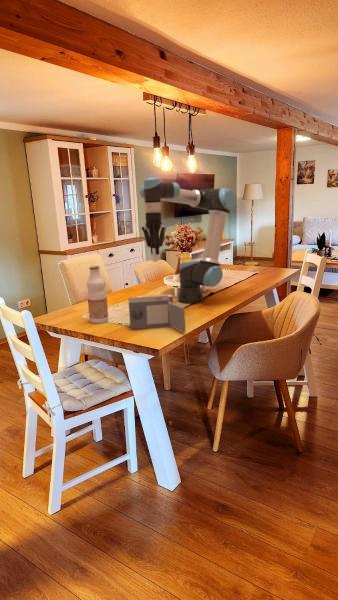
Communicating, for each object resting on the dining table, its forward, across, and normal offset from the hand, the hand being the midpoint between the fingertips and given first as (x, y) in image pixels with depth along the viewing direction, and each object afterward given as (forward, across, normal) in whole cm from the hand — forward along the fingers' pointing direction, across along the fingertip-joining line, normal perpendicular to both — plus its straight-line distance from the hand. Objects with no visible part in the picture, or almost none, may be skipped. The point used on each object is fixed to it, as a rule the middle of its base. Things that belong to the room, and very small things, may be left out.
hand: (155, 261), depth 195 cm
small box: (+30, 0, +6) cm, 30 cm away
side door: (+29, +17, -13) cm, 36 cm away
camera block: (+29, +1, -11) cm, 31 cm away
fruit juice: (+30, -27, -14) cm, 42 cm away
